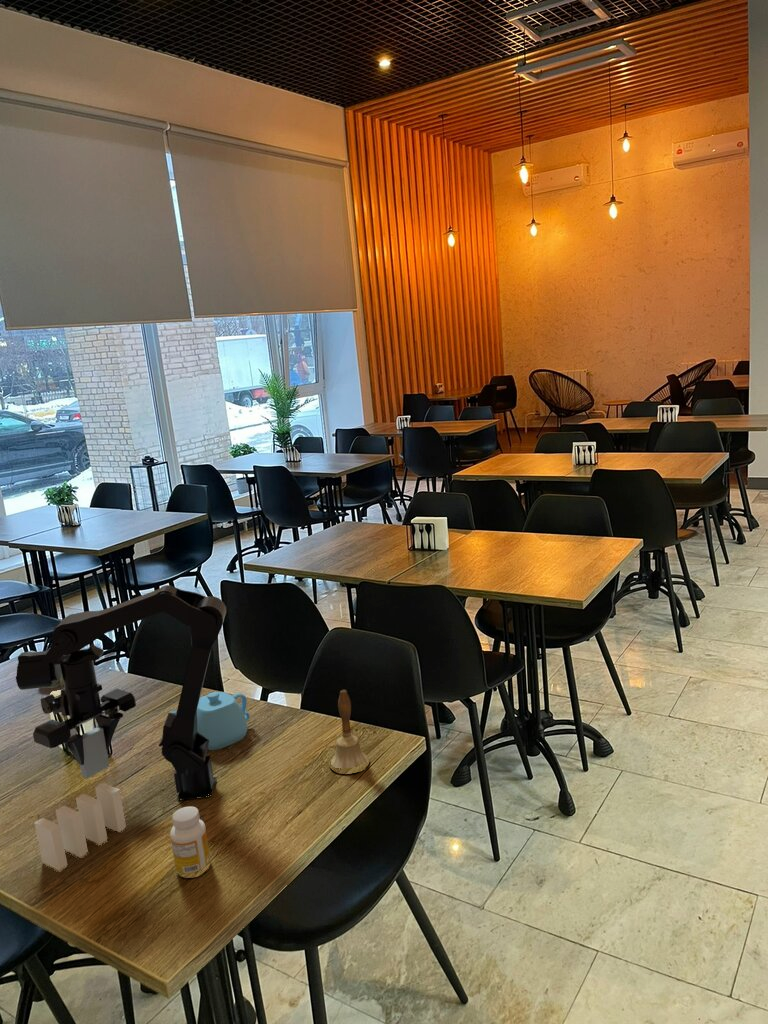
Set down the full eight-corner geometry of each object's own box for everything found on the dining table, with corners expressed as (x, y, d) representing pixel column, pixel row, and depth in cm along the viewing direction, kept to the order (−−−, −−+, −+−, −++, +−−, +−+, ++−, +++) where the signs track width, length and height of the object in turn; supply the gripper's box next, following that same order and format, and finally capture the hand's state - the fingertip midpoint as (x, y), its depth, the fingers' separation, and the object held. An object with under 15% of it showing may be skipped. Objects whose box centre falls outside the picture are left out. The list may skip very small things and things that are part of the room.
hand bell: (345, 750, 161) (338, 679, 158) (378, 759, 156) (371, 686, 153) (320, 769, 155) (312, 696, 151) (353, 779, 150) (346, 704, 147)
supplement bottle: (197, 853, 131) (189, 799, 129) (218, 865, 128) (210, 810, 126) (169, 872, 127) (160, 816, 125) (190, 884, 123) (181, 828, 121)
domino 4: (90, 833, 140) (83, 793, 138) (107, 841, 137) (100, 800, 135) (83, 838, 138) (75, 798, 137) (100, 846, 136) (92, 805, 134)
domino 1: (50, 858, 133) (42, 817, 132) (68, 867, 131) (59, 825, 129) (42, 864, 132) (34, 822, 130) (59, 873, 129) (51, 830, 128)
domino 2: (71, 845, 137) (63, 805, 135) (88, 854, 134) (80, 812, 132) (63, 850, 135) (55, 810, 134) (80, 859, 132) (72, 817, 131)
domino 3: (82, 776, 146) (75, 738, 145) (104, 764, 150) (97, 726, 149) (87, 778, 145) (80, 740, 144) (109, 766, 149) (103, 728, 148)
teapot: (157, 701, 168) (232, 674, 178) (165, 745, 170) (237, 717, 181) (181, 719, 158) (258, 690, 169) (188, 766, 160) (264, 735, 171)
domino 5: (109, 821, 143) (102, 782, 141) (126, 828, 140) (119, 789, 138) (102, 826, 142) (94, 787, 140) (119, 833, 139) (112, 793, 137)
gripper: (96, 657, 156) (108, 727, 159) (9, 694, 141) (24, 771, 144) (131, 666, 150) (143, 739, 153) (44, 706, 135) (59, 786, 138)
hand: (93, 757), depth 147 cm, fingers closed on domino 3, 5 cm apart
